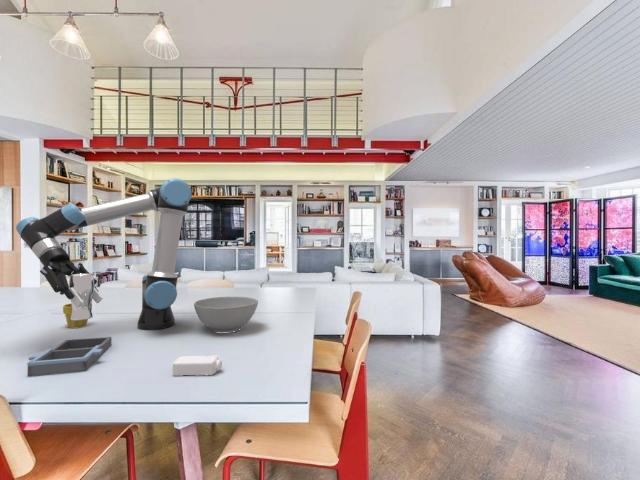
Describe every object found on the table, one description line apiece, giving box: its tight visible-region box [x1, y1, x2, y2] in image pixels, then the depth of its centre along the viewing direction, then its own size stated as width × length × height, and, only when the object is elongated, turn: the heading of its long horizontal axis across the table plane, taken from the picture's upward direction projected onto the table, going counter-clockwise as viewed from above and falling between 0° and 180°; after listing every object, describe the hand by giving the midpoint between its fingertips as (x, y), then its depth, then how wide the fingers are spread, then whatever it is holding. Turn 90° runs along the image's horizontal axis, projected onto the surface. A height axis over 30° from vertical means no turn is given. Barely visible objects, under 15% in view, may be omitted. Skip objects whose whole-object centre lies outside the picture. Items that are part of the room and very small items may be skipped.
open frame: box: [26, 336, 113, 377], centre depth 106 cm, size 18×25×4 cm
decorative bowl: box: [193, 296, 259, 333], centre depth 143 cm, size 27×27×12 cm
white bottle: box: [172, 354, 223, 377], centre depth 97 cm, size 6×13×4 cm, turn 93°
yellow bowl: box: [62, 302, 93, 329], centre depth 145 cm, size 10×10×10 cm
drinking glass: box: [68, 272, 95, 320], centre depth 112 cm, size 7×7×15 cm
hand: (90, 302), depth 111 cm, fingers closed on drinking glass, 7 cm apart
